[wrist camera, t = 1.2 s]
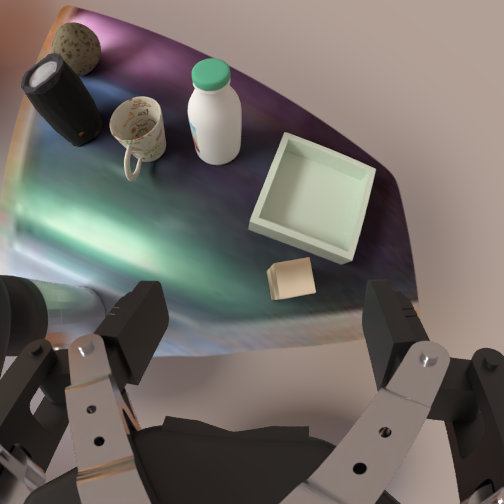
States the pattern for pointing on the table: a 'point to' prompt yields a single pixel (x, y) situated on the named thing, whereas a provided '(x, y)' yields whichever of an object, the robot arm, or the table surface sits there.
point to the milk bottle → (214, 113)
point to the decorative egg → (77, 47)
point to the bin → (314, 199)
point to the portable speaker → (62, 100)
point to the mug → (139, 131)
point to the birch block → (291, 279)
